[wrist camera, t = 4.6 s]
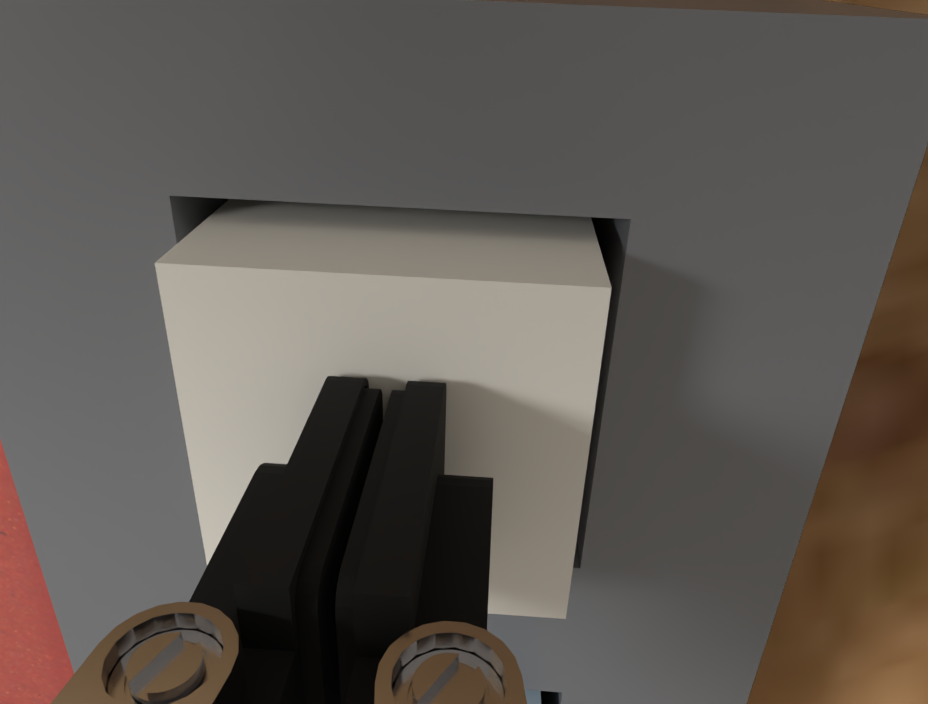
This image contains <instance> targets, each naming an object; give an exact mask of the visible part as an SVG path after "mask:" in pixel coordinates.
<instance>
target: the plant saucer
mask: <svg viewBox="0 0 928 704" xmlns="http://www.w3.org/2000/svg"><path fill="white" fill-rule="evenodd" d="M73 675H74V671H73V668H72V665H71V662H70V659H69V656H68V652H67V649H66V646H65V643H64V640H63V636H62V633H61V630H60V627H59V624H58V621H57V617H56V614H55V611H54V608H53V605H52V602H51V598H50V595H49V592H48V589H47V586H46V583H45V579H44V576H43V573H42V570H41V567H40V564H39V560H38V557H37V554H36V551H35V548H34V545H33V541H32V538H31V535H30V532H29V529H28V525H27V522H26V519H25V516H24V513H23V510H22V506H21V503H20V500H19V497H18V494H17V491H16V487H15V484H14V481H13V478H12V475H11V472H10V468H9V465H8V462H7V459H6V456H5V453H4V449H3V446H2V443H1V440H0V704H50V703H51V702H52V701H53V700H54V699H55V697H56V696H57V695H58V694H59V692H60V691H61V690H62V689H63V687H64V686H65V685H66V684H67V682H68V681H69V680H70V679H71V677H72V676H73Z"/></svg>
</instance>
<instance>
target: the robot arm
mask: <svg viewBox="0 0 928 704" xmlns="http://www.w3.org/2000/svg"><path fill="white" fill-rule="evenodd" d="M446 391H447V388H446V383H439V382H422V381H407V384H406V388H405V390H392V391H391V394H390V398H389V401H388V405H387V408H386V412H385V415H384V419H383V399H382V390H381V389H372V388H369V383H368V379H367V378H357V377H340V376H328V377H327V378H326V380H325V382H324V384H323V386H322V388H321V391H320V393H319V395H318V397H317V399H316V402H315V404H314V406H313V408H312V410H311V413H310V415H309V417H308V419H307V421H306V424H305V426H304V428H303V430H302V433H301V435H300V437H299V439H298V441H297V444H296V446H295V448H294V450H293V452H292V455H291V457H290V459H289V461H288V463H287V464H277V463H263V464H261V465H259V467H258V468H257V470H256V471H255V473H254V475H253V477H252V479H251V481H250V483H249V485H248V487H247V489H246V491H245V493H244V495H243V496H242V498H241V500H240V502H239V504H238V506H237V508H236V510H235V512H234V514H233V516H232V518H231V520H230V522H229V524H228V526H227V528H226V530H225V532H224V534H223V536H222V538H221V540H220V542H219V544H218V546H217V548H216V550H215V552H214V553H213V555H212V557H211V559H210V561H209V563H208V565H207V567H206V569H205V571H204V573H203V575H202V577H201V579H200V581H199V583H198V585H197V587H196V589H195V591H194V593H193V595H192V597H191V599H190V601H189V602H175V603H169V604H163V605H158V606H155V607H153V608H150V609H147V610H145V611H142V612H139V613H137V614H135V615H133V616H132V617H130V618H129V619H127V620H125V621H124V622H122V623H121V624H119V625H118V626H116V627H115V628H114V629H113V630H112V631H111V632H110V633H109V634H108V635H107V636H106V637H105V638H104V639H103V640H102V641H101V642H100V643H99V644H98V645H97V646H96V647H95V649H94V650H93V651H92V652H91V654H90V655H89V656H88V657H87V659H86V660H85V661H84V662H83V664H82V665H81V666H80V667H79V669H78V670H77V671H76V672H75V674H74V675H73V676H72V677H71V679H70V680H69V681H68V682H67V684H66V685H65V686H64V687H63V689H62V690H61V691H60V692H59V694H58V695H57V696H56V697H55V699H54V700H53V701H52V702H51V703H50V704H527V700H526V695H525V689H524V684H523V678H522V674H521V671H520V669H519V666H518V663H517V660H516V658H515V656H514V655H513V653H512V652H511V651H510V650H509V648H508V647H507V646H506V645H505V644H504V642H503V641H502V640H500V639H499V638H497V637H496V636H494V635H493V634H491V633H490V632H489V631H487V617H488V594H489V571H490V548H491V525H492V502H493V478H489V477H474V476H459V475H444V466H445V429H446Z"/></svg>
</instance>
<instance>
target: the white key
mask: <svg viewBox="0 0 928 704" xmlns="http://www.w3.org/2000/svg"><path fill="white" fill-rule="evenodd" d="M155 268H156V274H157V280H158V286H159V291H160V297H161V303H162V309H163V315H164V320H165V326H166V332H167V338H168V343H169V349H170V355H171V361H172V367H173V372H174V378H175V384H176V390H177V395H178V401H179V407H180V413H181V418H182V424H183V430H184V436H185V442H186V447H187V453H188V459H189V465H190V470H191V476H192V482H193V488H194V493H195V499H196V505H197V511H198V517H199V522H200V528H201V534H202V540H203V545H204V551H205V557H206V563H207V565H208V563H209V561H210V559H211V557H212V555H213V553H214V552H215V550H216V548H217V546H218V544H219V542H220V540H221V538H222V536H223V534H224V532H225V530H226V528H227V526H228V524H229V522H230V520H231V518H232V516H233V514H234V512H235V510H236V508H237V506H238V504H239V502H240V500H241V498H242V496H243V495H244V493H245V491H246V489H247V487H248V485H249V483H250V481H251V479H252V477H253V475H254V473H255V471H256V470H257V468H258V467H259V465H261V464H263V463H277V464H287V463H288V461H289V459H290V457H291V455H292V452H293V450H294V448H295V446H296V444H297V441H298V439H299V437H300V435H301V433H302V430H303V428H304V426H305V424H306V421H307V419H308V417H309V415H310V413H311V410H312V408H313V406H314V404H315V402H316V399H317V397H318V395H319V393H320V391H321V388H322V386H323V384H324V382H325V380H326V378H327V377H328V376H340V377H357V378H367V379H368V383H369V388H372V389H381V390H382V399H383V419H384V415H385V412H386V408H387V405H388V401H389V398H390V394H391V391H392V390H405V388H406V384H407V381H422V382H439V383H446V388H447V391H446V429H445V466H444V475H459V476H474V477H489V478H493V502H492V525H491V548H490V571H489V594H488V614H502V615H516V616H530V617H545V618H559V619H566V614H567V607H568V600H569V592H570V585H571V578H572V571H573V563H574V556H575V549H576V542H577V534H578V527H579V520H580V513H581V506H582V498H583V491H584V484H585V477H586V469H587V462H588V455H589V448H590V441H591V433H592V426H593V419H594V412H595V404H596V397H597V390H598V383H599V376H600V368H601V361H602V354H603V347H604V339H605V332H606V325H607V318H608V310H609V303H610V296H611V289H612V287H611V284H610V281H609V277H608V274H607V270H606V267H605V264H604V260H603V257H602V253H601V250H600V247H599V243H598V240H597V237H596V233H595V230H594V226H593V223H592V220H591V217H577V216H557V215H538V214H518V213H499V212H479V211H459V210H440V209H420V208H401V207H381V206H361V205H342V204H322V203H303V202H283V201H263V200H244V199H229V200H228V201H227V202H226V203H224V204H223V205H222V206H221V207H220V208H218V209H217V210H216V211H215V212H214V213H213V214H211V215H210V216H209V217H208V218H207V219H206V220H204V221H203V222H202V223H201V224H200V225H199V226H197V227H196V228H195V229H194V230H193V231H191V232H190V233H189V234H188V235H187V236H186V237H184V238H183V239H182V240H181V241H180V242H179V243H177V244H176V245H175V246H174V247H173V248H172V249H170V250H169V251H168V252H167V253H166V254H164V255H163V256H162V257H161V258H160V259H159V260H157V261H156V262H155Z"/></svg>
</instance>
